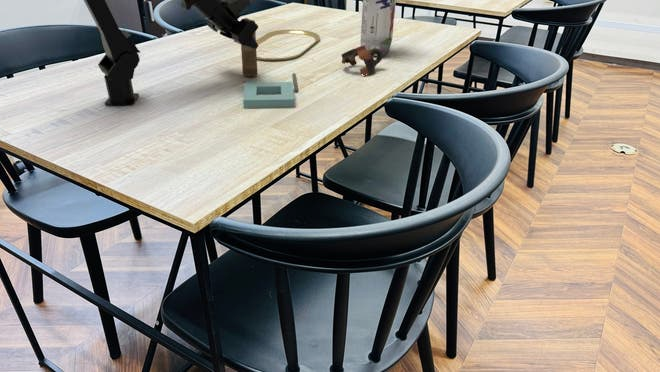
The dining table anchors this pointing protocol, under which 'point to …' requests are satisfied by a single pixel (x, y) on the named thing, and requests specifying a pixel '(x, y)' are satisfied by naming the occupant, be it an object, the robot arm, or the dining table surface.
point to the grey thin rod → (295, 82)
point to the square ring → (268, 100)
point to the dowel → (249, 59)
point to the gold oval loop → (286, 33)
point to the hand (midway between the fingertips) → (253, 45)
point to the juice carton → (377, 24)
